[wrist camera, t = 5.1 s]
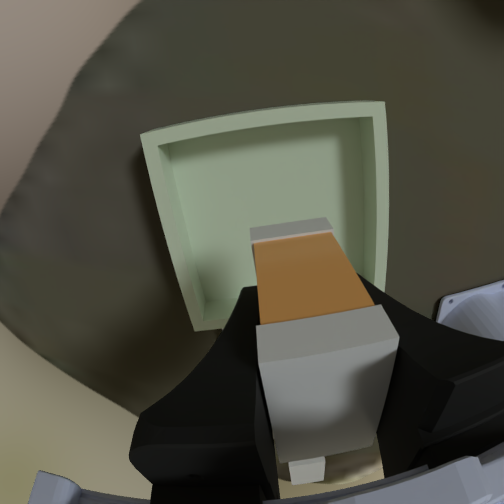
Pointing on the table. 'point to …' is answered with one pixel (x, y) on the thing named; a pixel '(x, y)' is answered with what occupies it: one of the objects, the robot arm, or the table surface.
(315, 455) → the block
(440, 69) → the table surface
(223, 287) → the tray
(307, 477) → the block
